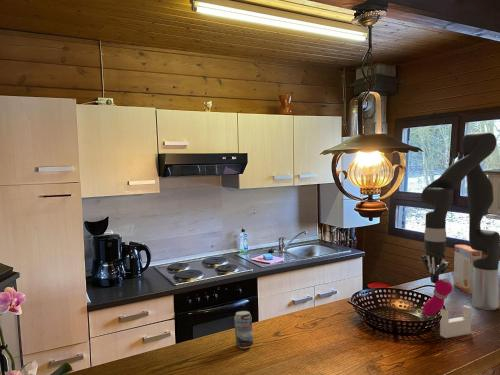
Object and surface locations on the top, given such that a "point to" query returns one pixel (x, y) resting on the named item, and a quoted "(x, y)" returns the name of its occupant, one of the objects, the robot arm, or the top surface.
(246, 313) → the beverage can
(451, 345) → the top surface
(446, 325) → the u rest
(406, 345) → the top surface
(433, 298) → the pepper mill
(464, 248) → the cracker box
